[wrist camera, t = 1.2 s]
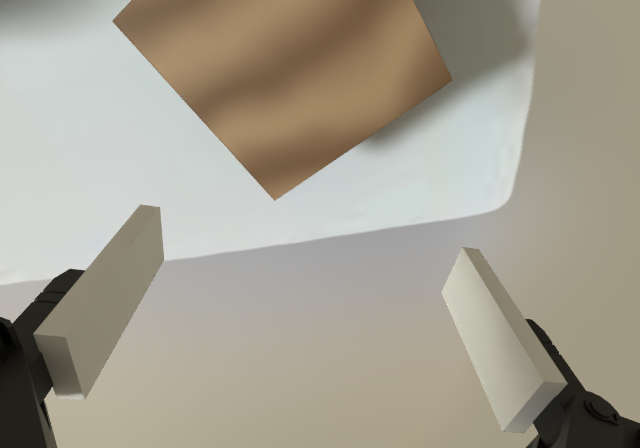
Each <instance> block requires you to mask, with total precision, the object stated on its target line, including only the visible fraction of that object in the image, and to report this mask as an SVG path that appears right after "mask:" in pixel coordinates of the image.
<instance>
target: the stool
mask: <svg viewBox="0 0 640 448" xmlns="http://www.w3.org/2000/svg"><path fill="white" fill-rule="evenodd" d="M113 23H114V24H115V25H116V26H117V27H118V28H119V29H120V30H121V31H122V32H123V34H124V35H125V36H126V37H127V38H128V39H129V40H130V41H131V42H132V44H133V45H134V46H135V47H136V48H137V49H138V50H139V51H140V52H141V53H142V55H143V56H144V57H145V58H146V59H147V60H148V61H149V62H150V63H151V65H152V66H153V67H154V68H155V69H156V70H157V71H158V72H159V73H160V74H161V76H162V77H163V78H164V79H165V80H166V81H167V82H168V83H169V84H170V86H171V87H172V88H173V89H174V90H175V91H176V92H177V93H178V94H179V95H180V97H181V98H182V99H183V100H184V101H185V102H186V103H187V104H188V105H189V107H190V108H191V109H192V110H193V111H194V112H195V113H196V114H197V115H198V116H199V118H200V119H201V120H202V121H203V122H204V123H205V124H206V125H207V126H208V128H209V129H210V130H211V131H212V132H213V133H214V134H215V135H216V136H217V137H218V139H219V140H220V141H221V142H222V143H223V144H224V145H225V146H226V147H227V149H228V150H229V151H230V152H231V153H232V154H233V155H234V156H235V157H236V159H237V160H238V161H239V162H240V163H241V164H242V165H243V166H244V167H245V168H246V170H247V171H248V172H249V173H250V174H251V175H252V176H253V177H254V178H255V180H256V181H257V182H258V183H259V184H260V185H261V186H262V187H263V188H264V189H265V191H266V192H267V193H268V194H269V195H270V196H271V197H272V198H273V199H274V201H275V200H276V199H278V198H279V197H281V196H282V195H284V194H285V193H287V192H288V191H290V190H291V189H293V188H294V187H296V186H297V185H299V184H300V183H302V182H303V181H305V180H306V179H308V178H309V177H310V176H312V175H313V174H315V173H316V172H318V171H319V170H321V169H322V168H324V167H325V166H327V165H328V164H330V163H331V162H333V161H334V160H336V159H337V158H339V157H340V156H341V155H343V154H344V153H346V152H347V151H349V150H350V149H352V148H353V147H355V146H356V145H358V144H359V143H361V142H362V141H364V140H365V139H367V138H368V137H370V136H371V135H373V134H374V133H375V132H377V131H378V130H380V129H381V128H383V127H384V126H386V125H387V124H389V123H390V122H392V121H393V120H395V119H396V118H398V117H399V116H401V115H402V114H404V113H405V112H407V111H408V110H409V109H411V108H412V107H414V106H415V105H417V104H418V103H420V102H421V101H423V100H424V99H426V98H427V97H429V96H430V95H432V94H433V93H435V92H436V91H438V90H439V89H440V88H442V87H443V86H445V85H446V84H448V83H449V82H451V81H452V78H451V76H450V74H449V72H448V70H447V67H446V65H445V63H444V61H443V59H442V57H441V55H440V53H439V51H438V49H437V47H436V45H435V43H434V41H433V39H432V37H431V35H430V33H429V31H428V29H427V27H426V25H425V23H424V21H423V19H422V17H421V15H420V13H419V11H418V9H417V7H416V5H415V3H414V1H413V0H131V2H130V3H129V4H128V5H127V6H126V7H125V8H124V9H123V10H122V11H121V12H120V13H119V14H118V15H117V16H116V17H115V18H114V20H113Z"/></svg>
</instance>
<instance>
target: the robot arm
mask: <svg viewBox="0 0 640 448" xmlns="http://www.w3.org/2000/svg"><path fill="white" fill-rule="evenodd" d="M163 261H164V253H163V241H162V228H161V215H160V207H154V206H147V205H140V206H139V207H138V208H137V209H136V211H135V212H134V213H133V214H132V215H131V217H130V218H129V219H128V220H127V221H126V223H125V224H124V225H123V226H122V227H121V229H120V230H119V231H118V232H117V233H116V235H115V236H114V237H113V238H112V240H111V241H110V242H109V243H108V244H107V246H106V247H105V248H104V249H103V250H102V252H101V253H100V254H99V255H98V256H97V258H96V259H95V260H94V261H93V262H92V264H91V265H90V266H89V267H88V268H87V270H86V271H85V270H76V269H69V270H67V271H66V272H64V273H62V274H61V275H59V276H57V277H56V278H54V279H53V280H52V281H51V282H50V283H49V285H48V286H47V287H46V288H45V289H44V290H43V292H41V293H40V294H39V295H38V296H37V298H36V299H35V301H34V302H32V303H31V304H30V305H29V306H28V307H27V308H26V310H25V311H24V312H23V313H22V314H21V315H20V316H19V317H18V318H17V319H16V321H14V323H13V324H12V323H11V322H10V320H7V319H5V318H2V317H0V448H57V445H56V441H55V438H54V434H53V430H52V426H51V422H50V419H49V415H48V411H47V408H46V404H45V401H44V399H45V397H46V395H47V394H48V392H49V391H50V390H51V388H52V387H53V389H54V391H55V394H56V397H57V398H64V399H77V400H85V399H86V397H87V395H88V393H89V392H90V390H91V388H92V386H93V385H94V383H95V381H96V379H97V378H98V376H99V374H100V372H101V370H102V369H103V367H104V365H105V363H106V362H107V360H108V358H109V356H110V355H111V353H112V351H113V349H114V348H115V346H116V344H117V342H118V340H119V339H120V337H121V335H122V333H123V332H124V330H125V328H126V326H127V325H128V323H129V321H130V319H131V317H132V316H133V314H134V312H135V310H136V309H137V307H138V305H139V303H140V301H141V300H142V298H143V296H144V294H145V293H146V291H147V289H148V287H149V286H150V284H151V282H152V280H153V278H154V277H155V275H156V273H157V271H158V270H159V268H160V266H161V264H162V263H163ZM441 293H442V295H443V297H444V299H445V302H446V304H447V306H448V309H449V311H450V313H451V315H452V318H453V320H454V322H455V324H456V327H457V329H458V331H459V334H460V336H461V338H462V340H463V343H464V345H465V347H466V349H467V352H468V354H469V356H470V359H471V361H472V363H473V365H474V368H475V370H476V372H477V375H478V377H479V379H480V381H481V383H482V386H483V388H484V390H485V393H486V395H487V397H488V399H489V402H490V404H491V406H492V409H493V411H494V413H495V415H496V418H497V420H498V422H499V425H500V427H501V429H502V431H503V432H514V433H525V432H526V431H527V429H528V428H529V427H530V426H531V425H532V424H534V425H535V427H536V429H537V431H538V433H539V434H538V435H537V436H536V437H535V438H534V439H533V441H531V443H530V444H529V445H528V446H527V447H526V448H640V423H637V422H635V421H632V420H629V419H627V418H624V417H621V416H620V415H619V414H618V412H617V411H616V410H615V409H614V408H613V406H611V404H610V403H608V402H607V401H606V400H604V399H603V398H602V397H600V396H598V395H596V394H594V393H592V392H588V391H586V390H585V389H584V387H583V386H582V384H581V383H580V382H579V380H578V379H577V377H576V376H575V375H574V373H573V372H572V370H571V369H570V367H569V366H568V364H567V363H566V362H565V360H564V359H563V357H562V356H561V355H559V351H558V350H557V349H556V347H555V346H554V345H552V342H551V340H550V339H549V337H548V336H547V335H546V333H545V332H544V330H542V328H540V327H539V326H538V325H537V324H536V323H535V322H534V321H533V320H530V319H525V318H524V317H523V315H522V314H521V312H520V311H519V309H518V308H517V306H516V305H515V303H514V302H513V300H512V299H511V297H510V296H509V294H508V293H507V291H506V290H505V288H504V287H503V285H502V284H501V283H500V281H499V279H498V278H497V276H496V275H495V273H494V272H493V270H492V269H491V267H490V266H489V264H488V263H487V261H486V260H485V258H484V256H483V255H482V253H481V252H480V250H479V249H473V248H464V247H462V250H461V252H460V254H459V256H458V258H457V260H456V262H455V265H454V267H453V269H452V271H451V273H450V275H449V277H448V279H447V282H446V284H445V286H444V288H443V290H442V292H441Z"/></svg>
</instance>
